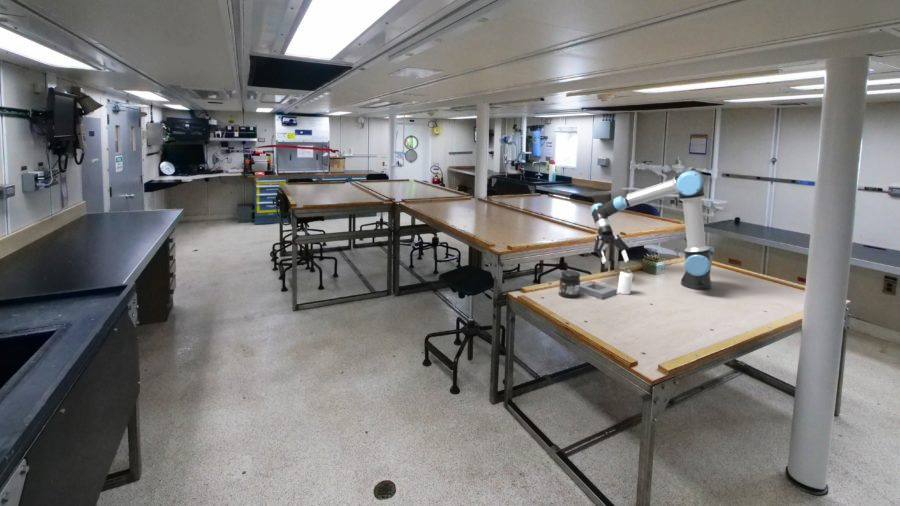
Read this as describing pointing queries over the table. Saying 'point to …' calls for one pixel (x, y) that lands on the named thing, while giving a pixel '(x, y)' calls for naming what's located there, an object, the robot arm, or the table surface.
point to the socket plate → (597, 289)
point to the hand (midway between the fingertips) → (615, 262)
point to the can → (625, 282)
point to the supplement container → (569, 284)
